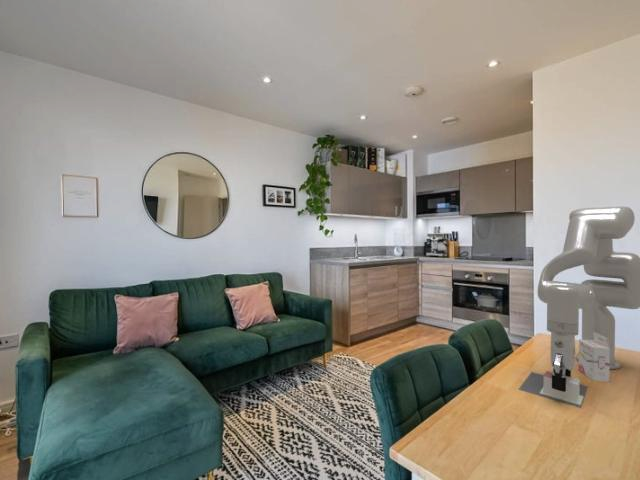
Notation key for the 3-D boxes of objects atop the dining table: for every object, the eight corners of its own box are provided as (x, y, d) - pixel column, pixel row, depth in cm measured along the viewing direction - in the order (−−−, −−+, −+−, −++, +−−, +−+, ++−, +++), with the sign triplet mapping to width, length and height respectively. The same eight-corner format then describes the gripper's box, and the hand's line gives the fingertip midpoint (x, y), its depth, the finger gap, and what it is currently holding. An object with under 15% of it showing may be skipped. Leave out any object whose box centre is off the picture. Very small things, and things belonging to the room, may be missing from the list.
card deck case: (579, 396, 94) (579, 378, 94) (577, 402, 90) (577, 384, 90) (546, 387, 99) (546, 370, 99) (543, 392, 96) (543, 375, 96)
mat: (531, 373, 111) (531, 371, 111) (587, 388, 100) (587, 385, 100) (518, 391, 98) (518, 388, 98) (580, 410, 88) (580, 407, 88)
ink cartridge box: (577, 371, 113) (577, 330, 113) (593, 373, 112) (594, 331, 112) (592, 382, 105) (593, 337, 104) (610, 384, 104) (610, 338, 103)
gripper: (574, 336, 86) (573, 399, 86) (581, 324, 98) (581, 379, 98) (541, 330, 91) (540, 389, 91) (552, 319, 103) (551, 372, 104)
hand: (561, 384), depth 95 cm, fingers open, 9 cm apart
